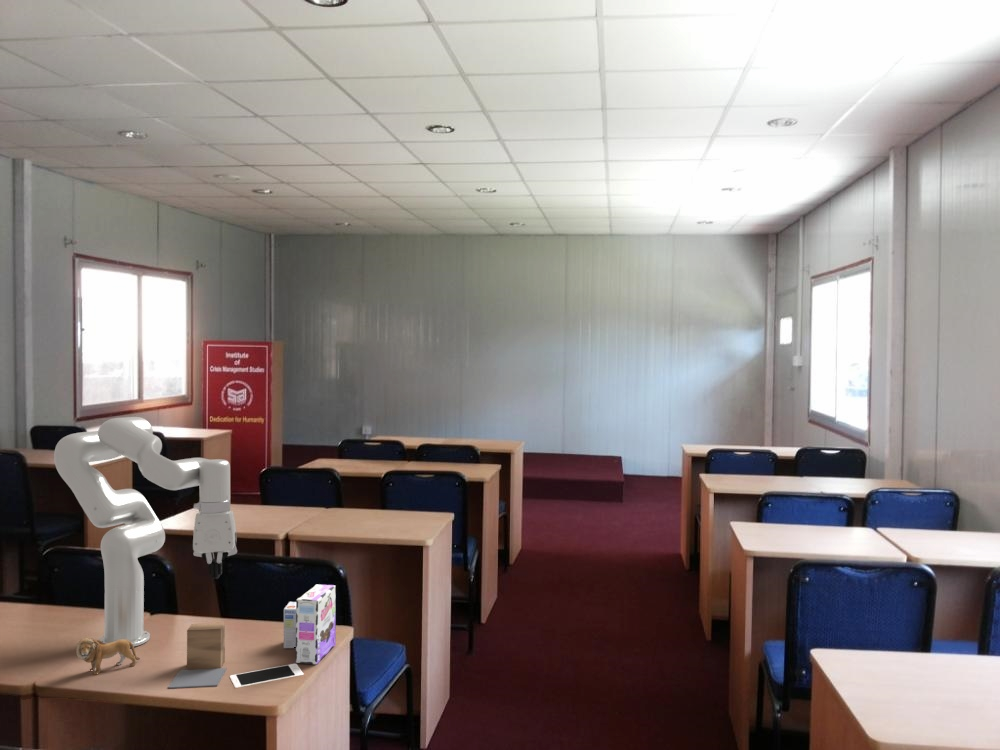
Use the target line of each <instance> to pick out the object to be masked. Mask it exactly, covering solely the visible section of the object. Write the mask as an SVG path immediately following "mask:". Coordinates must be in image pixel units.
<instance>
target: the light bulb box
mask: <svg viewBox="0 0 1000 750" xmlns="http://www.w3.org/2000/svg"><path fill="white" fill-rule="evenodd" d="M294 647H296V601H288V603H287V605H285V607H284V608H283V649H295V648H294Z"/></svg>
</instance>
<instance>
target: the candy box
mask: <svg viewBox="0 0 1000 750" xmlns="http://www.w3.org/2000/svg"><path fill="white" fill-rule="evenodd" d="M336 590H337V589H336V585H334V584H315V585H314V586H313V587H311V588H310V589H309V590H308V591H306V592H305V593H303V594H302V595H301V596H299V597H297V599H296V600H295V602H296V648H295V664H304V665H305V664H306V665H307V664H308V665H318V664H319V663H320V662H321V661H322V659H323V658H325V656H326V655H327V654H329V652H330V651H331V650H332V649H333V648H334V647H335V646H336V641H337V640H336V639H337V637H336V633H337V632H336V625H337V624H336V617H337V615H336V614H337V613H336V600H337V599H336V598H337V597H336V595H337V593H336V592H337V591H336ZM332 647H333V648H332Z"/></svg>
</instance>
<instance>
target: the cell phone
mask: <svg viewBox="0 0 1000 750" xmlns="http://www.w3.org/2000/svg"><path fill="white" fill-rule="evenodd" d="M301 676H304V672H303V671H302V670H301V668H300V666H299V665H298V663H290V664H285V665H281V666H280V665H278V666H275V667H268V668H263V669H259V670H252V671H248V672H242V673H236V674H230V676H229V679H230V680H231V682H232V685H233V687H234V688H235V689H239V688H244V687H250V686H255V685H261V684H265V683H271V682H276V681H282V680H286V679H291V678H296V677H301Z"/></svg>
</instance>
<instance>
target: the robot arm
mask: <svg viewBox="0 0 1000 750" xmlns="http://www.w3.org/2000/svg"><path fill="white" fill-rule="evenodd" d="M162 449H163V443H162V440H161V438H160V437H159V436H157V435H155V434H154V431H153V427H152V425H151V423H150V422H149V421H148V420H147V419H145V418H144V417H139V416H125V417H123V416H122V417H115V418H109V419H108V420H106V421H104V422H103V423H102V424H100V426H99V428H98V430H93V431H83V432H76V433H70V434H68V435H66V436H64V437H62V438H61V439H60V440H59V441H58V442H57V444H56V445H55V449H54V455H53V459H54V466H55V468H56V470H57V472H58V474H59V476H60V477H61V479H62V480H63V481H64V482H65V483H66V485H67V486H68V487H69V488H70V490H71V491H72V493H73V494H74V496H75V498H76V500H77V502H78V504H79V505H80V507H81V508H82V510H83V512H84V514H85V515H86V517H87V518H88V520H89V521H90V523H92V525H93V526H95V527H96V528H100V529H106V528H110V527H114V526H116V527H114V528H111V529H109V530H108V531H107V532H105V534H104V535H103V536H102V538H101V541H100V552H101V553H100V554H101V558H102V561H103V569H104V570H103V571H104V632H103V633H104V635H103V636H101V637H99V639H98V640H100V641H101V642H103V643H106V644H107V643H111V642H115V641H117V640H121V639H126V640H129V641H130V642H131V643H132V644H133V646H134V648H135V647H138V646H140V645H143V644H145V643H146V642H148V641H149V640H150V638H151V637H150V636H151V635H150V634H151V633H150V632H148V631H147V630H144V624H145V623H144V621H145V618H144V613H145V612H144V609H145V607H144V602H145V598H144V597H145V596H144V595H145V591H144V588H145V587H144V586H145V580H144V579H145V578H144V577H145V576H144V571H143V568H142V565H141V564H140V562H139V560H138V558H140V557H144V556H148V555H149V554H153V553H155V552H157V551H159V550H160V549H161V548H162V547H163V546H164V543H165V542H166V533H165V529H164V526H163V524H162V523H161V521H160V518H159V517H158V516H157V515H156V513H155V511H154V510H153V508H152V506H151V505H150V503H149V502H148V500H147V499H146V497H145V496H144V495H143V493H141V492H140V491H138V490H136V489H134V488H122V489H116V490H115V489H114V488H112V486H111V485H110V483H109V482H108V480H107V478H106V476H105V475H103V473H102V472H100V471H99V470H98V469H97V468H95V467H93V466H92V465H91V464H90V463H94V462H101V461H107V460H108V461H109V460H112V459H116V458H119V457H121V456H123V457H125V458H126V459H128V460H130V461H131V462H135V463H136V464H137V466H138V469H139V471H140V473H141V475H142V476H143V478H146V479H147V481H149V482H151V483H153V484H155V485H157V486H159V487H161V488H163V489H166V490H169V491H178V490H183V489H188V488H193V487H198V486H199V501H198V502H197V503H193V509H197V510H198V513H196V514H195V518H194V525H193V535H192V536H193V539H192V550H193V556H194V557H200V558H202V559H203V560H205V561H206V562H207V563H206V564H208V576H210V579H211V580H214V579H216V580H218V579H219V578H220V576H222V574H223V561H224V560H225V559H226V558H227V557H230V556H234V555H236V554H237V553H238V549H237V528H236V520H235V515H234V511H233V510H231V464H230V462H229V461H228V459H227V460H226V459H219V458H217V459H215V458H214V459H208V458H204V457H191V458H190V457H189V458H184V459H183V458H182V459H178V460H171V459H169V458H167V457H166V456H163V455H162V454H161V452H162ZM122 524H123V525H122ZM214 553H217V556H216V559H215V554H214ZM130 649H131V647H130Z"/></svg>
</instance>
